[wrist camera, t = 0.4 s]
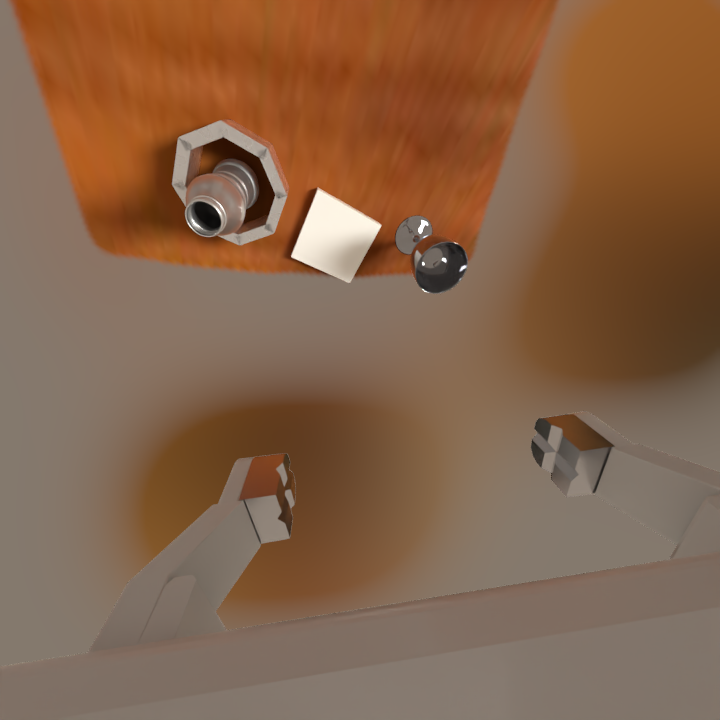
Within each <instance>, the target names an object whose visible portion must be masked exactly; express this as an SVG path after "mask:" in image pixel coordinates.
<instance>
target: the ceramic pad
mask: <svg viewBox="0 0 720 720" xmlns="http://www.w3.org/2000/svg"><path fill="white" fill-rule="evenodd" d="M380 227H381V224H380V223H379V222H377V221H375V220H373V219H372V218H370V217H368V216H366V215H365V214H363V213H361V212H360V211H358V210H356V209H354V208H353V207H351V206H349V205H347V204H346V203H344V202H342V201H340V200H339V199H337V198H335V197H333V196H332V195H330V194H328V193H327V192H325V191H323V190H321V189H320V188H317V190H316V193H315V195H314V198H313V200H312V203H311V206H310V208H309V211H308V213H307V216H306V218H305V221H304V223H303V226H302V228H301V231H300V233H299V236H298V238H297V241H296V243H295V246H294V248H293V251H292V253H291V257H292V258H294V259H297V260H299V261H301V262H303V263H305V264H308V265H310V266H312V267H314V268H317V269H319V270H321V271H323V272H325V273H328V274H330V275H332V276H334V277H336V278H339V279H341V280H343V281H345V282H348V283H350V282H351V280H352V278H353V277H354V275H355V273H356V271H357V269H358V268H359V266H360V264H361V262H362V260H363V258H364V257H365V255H366V253H367V251H368V249H369V248H370V246H371V244H372V242H373V240H374V238H375V237H376V235H377V233H378V231H379V229H380Z"/></svg>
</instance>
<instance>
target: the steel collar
mask: <svg viewBox="0 0 720 720" xmlns="http://www.w3.org/2000/svg"><path fill="white" fill-rule="evenodd" d="M221 138H226V139H228V140H229V141H231V142H233V143H235V144H236V145H238V146H240V147H242V148H243V149H245V150H247V151H249V152H250V153H252V154H254V155H256V156H257V157H259V158H260V160H261V162H262V165H263V167H264V169H265V172H266V174H267V176H268V179H269V181H270V183H271V186H272V188H273V190H274V192H275V198H274V201H273V204H272V207H271V210H270V213H269V215H266V216H263V217H260V218H258V219H255V220H252V221H249V222H246V223H242V225H241V227H240V228H239V229H238V230H237V231H235V232H234V233H232V234H229V235H224V236H219V237H221V238H224V239H226V240H228V241H231V242H233V243H235V244H238V245H243V244H245V243H248V242H251V241H254V240H257V239H259V238H262V237H265V236H268V235H271V234H274V232H275V229H276V226H277V224H278V221H279V218H280V215H281V212H282V209H283V206H284V203H285V201H286V198H287V194H288V190H289V186H288V183H287V181H286V178H285V175H284V173H283V170H282V168H281V165H280V163H279V160H278V158H277V155H276V153H275V150H274V148H273V145H272V144H271V143H269V142H268V141H266V140H264V139H263V138H261V137H259V136H258V135H256V134H254V133H253V132H251V131H249V130H248V129H246V128H244V127H243V126H241V125H239V124H238V123H236V122H234V121H233V120H231V119H228V120H220V121H218V122H215V123H213V124H210V125H208V126H205V127H203V128H200V129H198V130H195V131H193V132H190V133H188V134H185V135H182V136H180V137H178V142H177V150H176V157H175V165H174V172H173V180H172V186H173V187H174V189H175V191H176V192H177V194H178V195H179V197H180V198H181V200H182V202H183V203H184V205H185V206H186V191H187V188H188V186H189V184H190V183H191V181H193V180H194V179H195V178H196V177H198V173H199V168H200V162H201V156H202V151H203V145H206V144H208V143H211V142H213V141H216V140H218V139H221Z"/></svg>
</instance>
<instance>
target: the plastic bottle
mask: <svg viewBox="0 0 720 720" xmlns="http://www.w3.org/2000/svg"><path fill="white" fill-rule="evenodd" d="M258 195H259V184H258V180H257V177H256V175H255V173H254V171H253V170H252V168H251V167H250V166H249V165H247V164H246V163H244V162H242V161H240V160H237V159H225V160H223V161H221V162H219V163H218V164H217V165H216V167H215V168H214V170H213V173H212V174H204V175H201V176H198V177H196V178H195V179H194V180H193V181H191V183H190V184H189V186H188V188H187V191H186V209H185V218H186V221H187V223H188V225H189V227H190V228H191V229H192V230H193V231H194V232H195V233H197V234H199V235H201V236H204V237H213V236H216V235H217V236H224V235H229V234H232V233H234V232H235V231H237V230H238V229H239V228H240V227H241V225H242V223H243V221H244V218H245V213H246V209H248V208H250V207H251V206H252V205H254V203H255V202H256V200H257V198H258Z"/></svg>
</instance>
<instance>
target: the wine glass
mask: <svg viewBox="0 0 720 720" xmlns="http://www.w3.org/2000/svg"><path fill="white" fill-rule="evenodd" d="M395 241H396V245H397V247H398V249H399V250H400V251H401V252H402V253H404V254H406V255H411V256H410V267H411V271H412V274H413V277H414V279H415V280H416V282H417V284H418V285H419V287H420V288H422V289H423V290H424V291H426V292H428V293H433V294H438V293H443V292H446V291H448V290H450V289H451V288H453V287H455V286H456V285H457V284H458V283H459V282H460V281H461V280H462V278H463V277H464V275H465V273H466V270H467V266H468V257H467V254H466V252H465V250H464V249H463V248H462V247H461V246H460V245H459V244H458V243H457V242H456V241H454V240H453V239H451V238H449V237H446V236H443V235H439V234H433V230H432V225H431V223H430V222H429V220H428V219H426V218H425V217H423V216H411V217H409V218H407V219H405V220H404V221H403V222H402V223H401V224H400V226H399V227H398V229H397V232H396V236H395Z"/></svg>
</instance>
